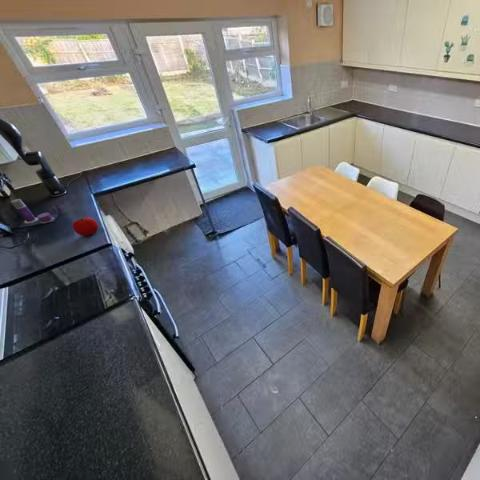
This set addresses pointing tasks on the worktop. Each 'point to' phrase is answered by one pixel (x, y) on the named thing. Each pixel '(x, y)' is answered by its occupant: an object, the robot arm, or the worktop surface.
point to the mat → (37, 221)
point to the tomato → (85, 226)
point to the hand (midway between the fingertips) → (9, 193)
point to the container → (23, 210)
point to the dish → (45, 217)
